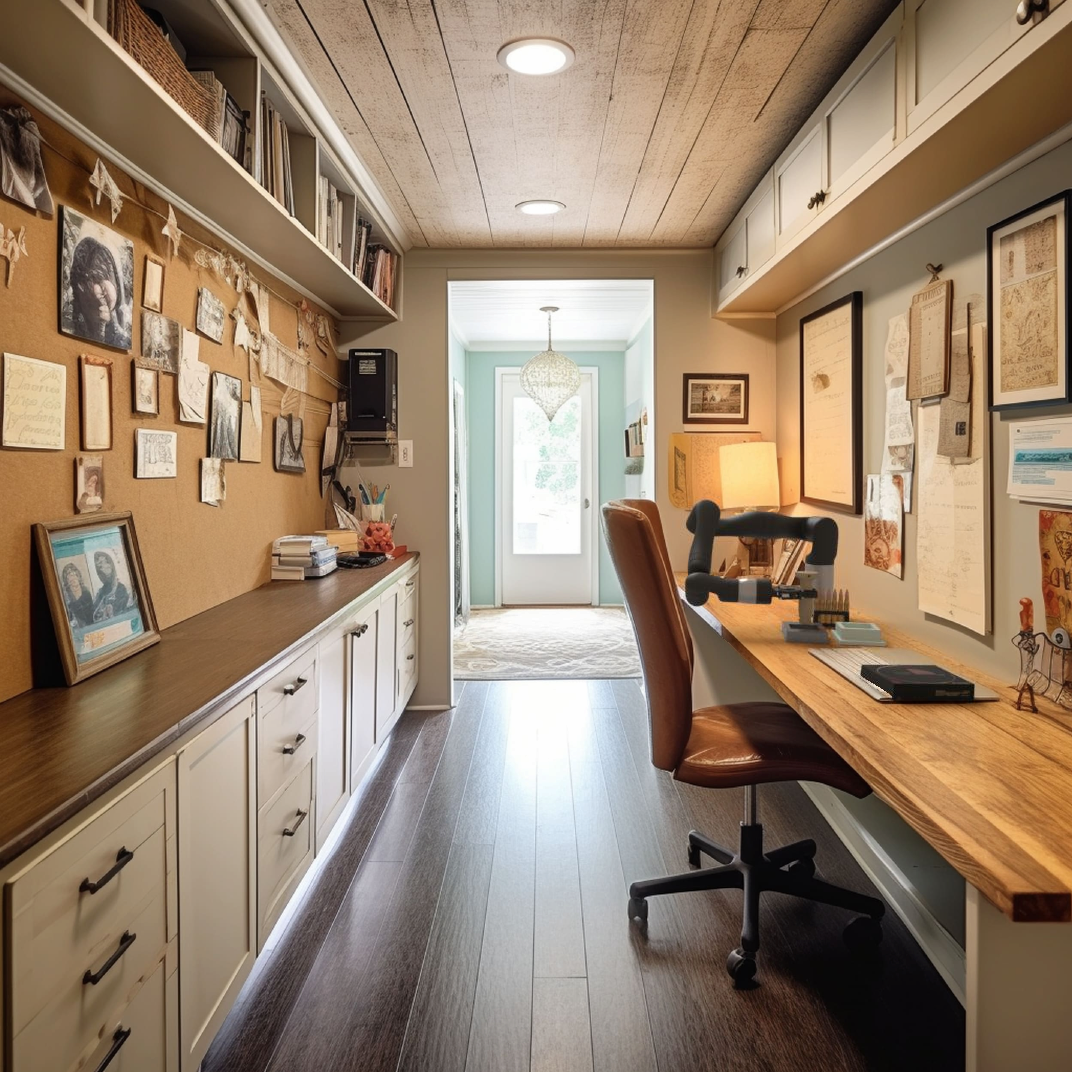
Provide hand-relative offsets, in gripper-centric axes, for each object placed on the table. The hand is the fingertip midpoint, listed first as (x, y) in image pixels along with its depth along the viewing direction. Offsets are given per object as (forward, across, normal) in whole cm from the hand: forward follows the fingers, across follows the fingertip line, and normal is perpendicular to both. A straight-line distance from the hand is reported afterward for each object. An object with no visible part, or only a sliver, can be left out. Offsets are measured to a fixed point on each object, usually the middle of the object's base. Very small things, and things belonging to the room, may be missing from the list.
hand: (816, 593), depth 219 cm
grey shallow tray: (+11, 0, +13) cm, 17 cm away
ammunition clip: (+7, +19, +13) cm, 24 cm away
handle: (-3, 0, +9) cm, 10 cm away
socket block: (-3, 0, +13) cm, 13 cm away
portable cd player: (+14, -53, +13) cm, 57 cm away
